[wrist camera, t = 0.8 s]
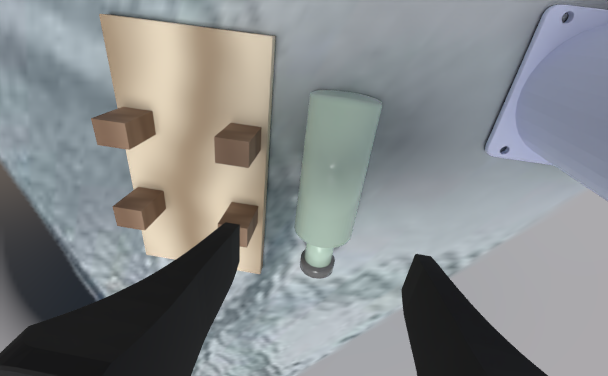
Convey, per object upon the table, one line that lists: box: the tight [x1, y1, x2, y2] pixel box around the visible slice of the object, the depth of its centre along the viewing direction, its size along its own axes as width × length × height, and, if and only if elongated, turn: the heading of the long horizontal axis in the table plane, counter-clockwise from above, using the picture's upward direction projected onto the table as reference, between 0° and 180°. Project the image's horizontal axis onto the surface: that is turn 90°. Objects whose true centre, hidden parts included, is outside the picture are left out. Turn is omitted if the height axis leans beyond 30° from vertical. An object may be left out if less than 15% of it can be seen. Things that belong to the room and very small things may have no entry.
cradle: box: [91, 14, 275, 274], centre depth 20 cm, size 10×18×4 cm, turn 174°
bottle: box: [295, 90, 383, 278], centre depth 19 cm, size 4×12×4 cm, turn 173°
